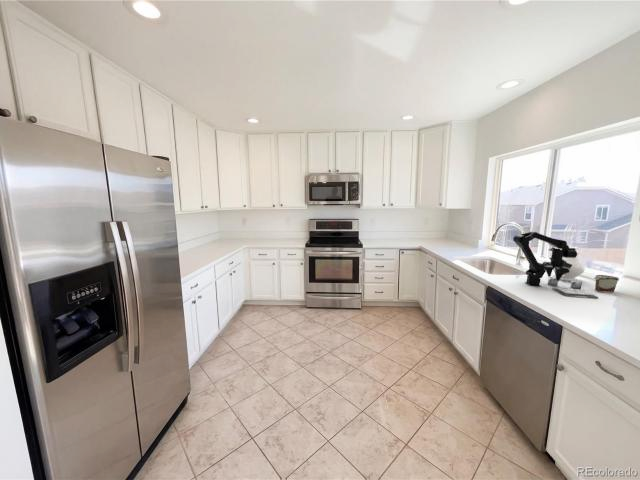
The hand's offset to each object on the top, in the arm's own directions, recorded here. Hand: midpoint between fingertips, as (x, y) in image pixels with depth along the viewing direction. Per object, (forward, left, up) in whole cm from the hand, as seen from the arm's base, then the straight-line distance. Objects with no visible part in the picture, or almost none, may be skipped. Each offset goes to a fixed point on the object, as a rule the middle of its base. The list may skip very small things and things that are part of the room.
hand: (553, 278), depth 173 cm
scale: (+3, -16, -5) cm, 17 cm away
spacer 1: (0, 0, -5) cm, 5 cm away
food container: (+25, -4, -5) cm, 26 cm away
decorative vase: (+19, +19, -5) cm, 27 cm away
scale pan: (+3, -16, -4) cm, 17 cm away
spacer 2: (+11, -4, -5) cm, 13 cm away
